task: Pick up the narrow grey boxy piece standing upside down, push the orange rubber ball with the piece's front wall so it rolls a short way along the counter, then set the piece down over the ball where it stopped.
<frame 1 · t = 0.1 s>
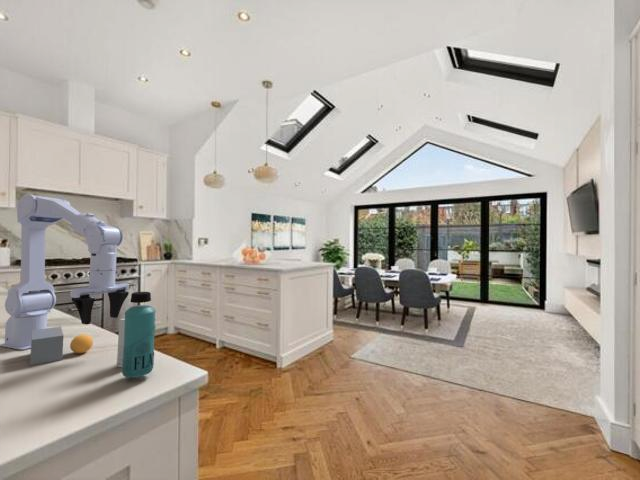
hand: (100, 320, 81), 10 cm above the counter, tool pointing down, fingers open, 7 cm apart
grey boxy piece: (46, 356, 80), on the counter
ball: (81, 343, 84), on the counter
beverage bottle: (137, 379, 70), on the counter
skincare box: (133, 364, 78), on the counter
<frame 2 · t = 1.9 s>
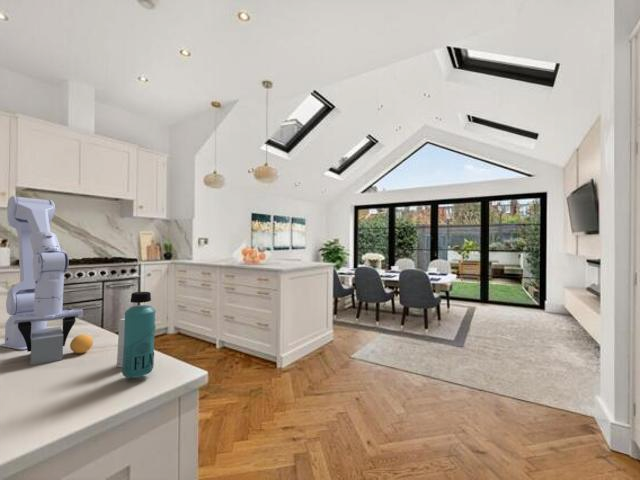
hand: (46, 347, 80), 2 cm above the counter, tool pointing down, fingers closed on grey boxy piece, 6 cm apart
grey boxy piece: (46, 356, 80), on the counter, touching gripper
everything else where it was.
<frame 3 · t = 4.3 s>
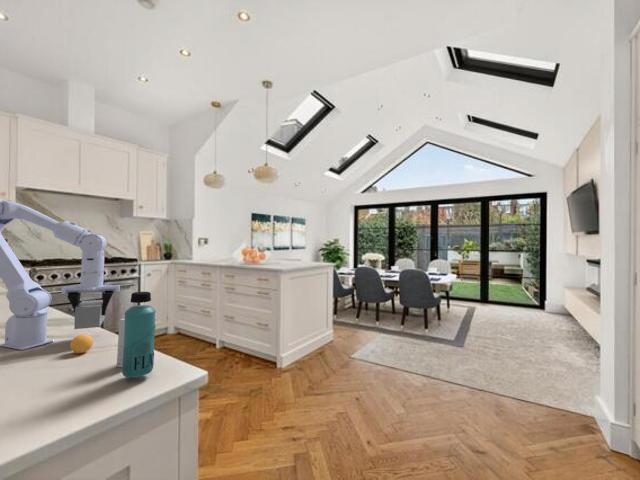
hand: (90, 315, 94), 8 cm above the counter, tool pointing down, fingers closed on grey boxy piece, 6 cm apart
grey boxy piece: (90, 323, 94), point 5 cm above the counter, touching gripper
everything else where it was.
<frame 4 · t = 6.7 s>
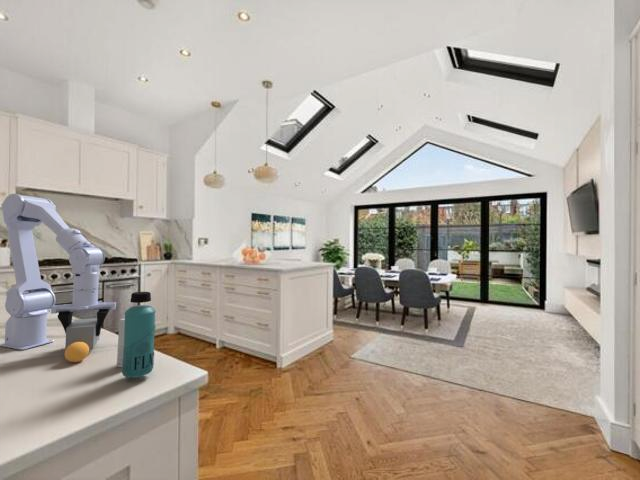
hand: (83, 336, 86), 4 cm above the counter, tool pointing down, fingers closed on grey boxy piece, 6 cm apart
grey boxy piece: (83, 345, 86), point 1 cm above the counter, touching gripper
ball: (77, 351, 78), on the counter
everything else where it was.
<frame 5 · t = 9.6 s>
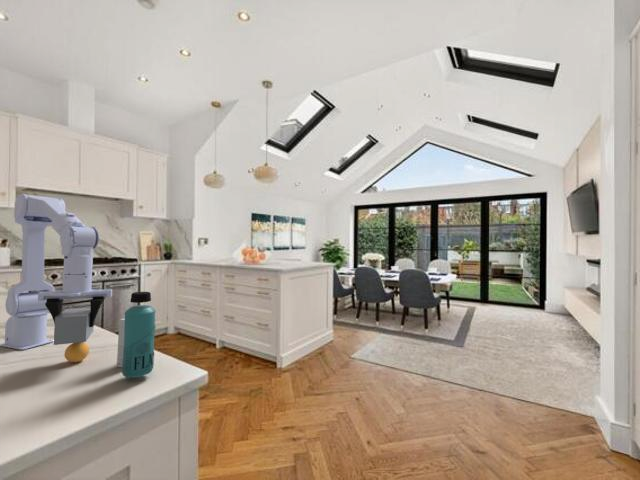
hand: (75, 327, 76), 9 cm above the counter, tool pointing down, fingers closed on grey boxy piece, 6 cm apart
grey boxy piece: (75, 337, 76), point 7 cm above the counter, touching gripper
everything else where it was.
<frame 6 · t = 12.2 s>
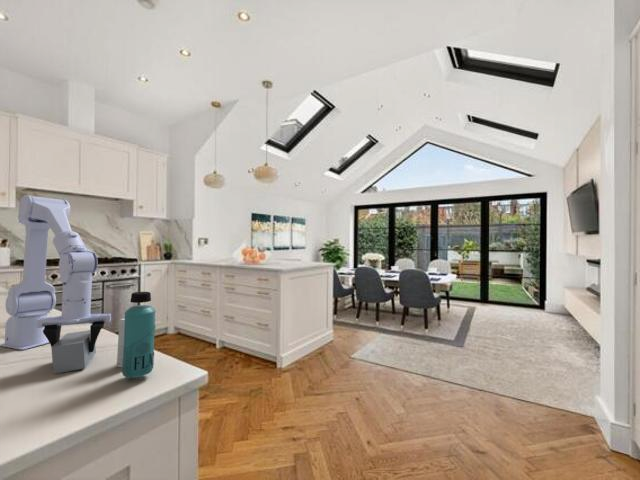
hand: (74, 352, 76), 3 cm above the counter, tool pointing down, fingers closed on grey boxy piece, 6 cm apart
grey boxy piece: (76, 362, 76), on the counter, tilted 6°, touching gripper
everything else where it was.
when the fingers open (3 cm above the counter, at t = 12.5 s): grey boxy piece stays where it is, on the counter.
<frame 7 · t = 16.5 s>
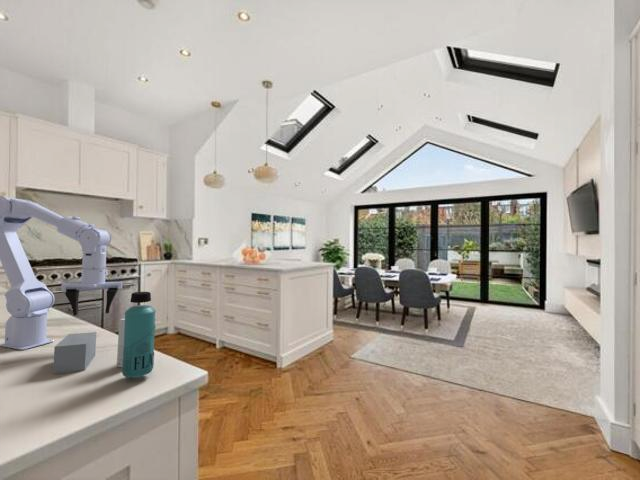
hand: (91, 313, 90), 9 cm above the counter, tool pointing down, fingers open, 7 cm apart
grey boxy piece: (75, 364, 76), on the counter
everything else where it was.
at the end: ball 1.7 cm from the grey boxy piece (horizontally); grey boxy piece on the counter; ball moved 7.1 cm from its start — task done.
